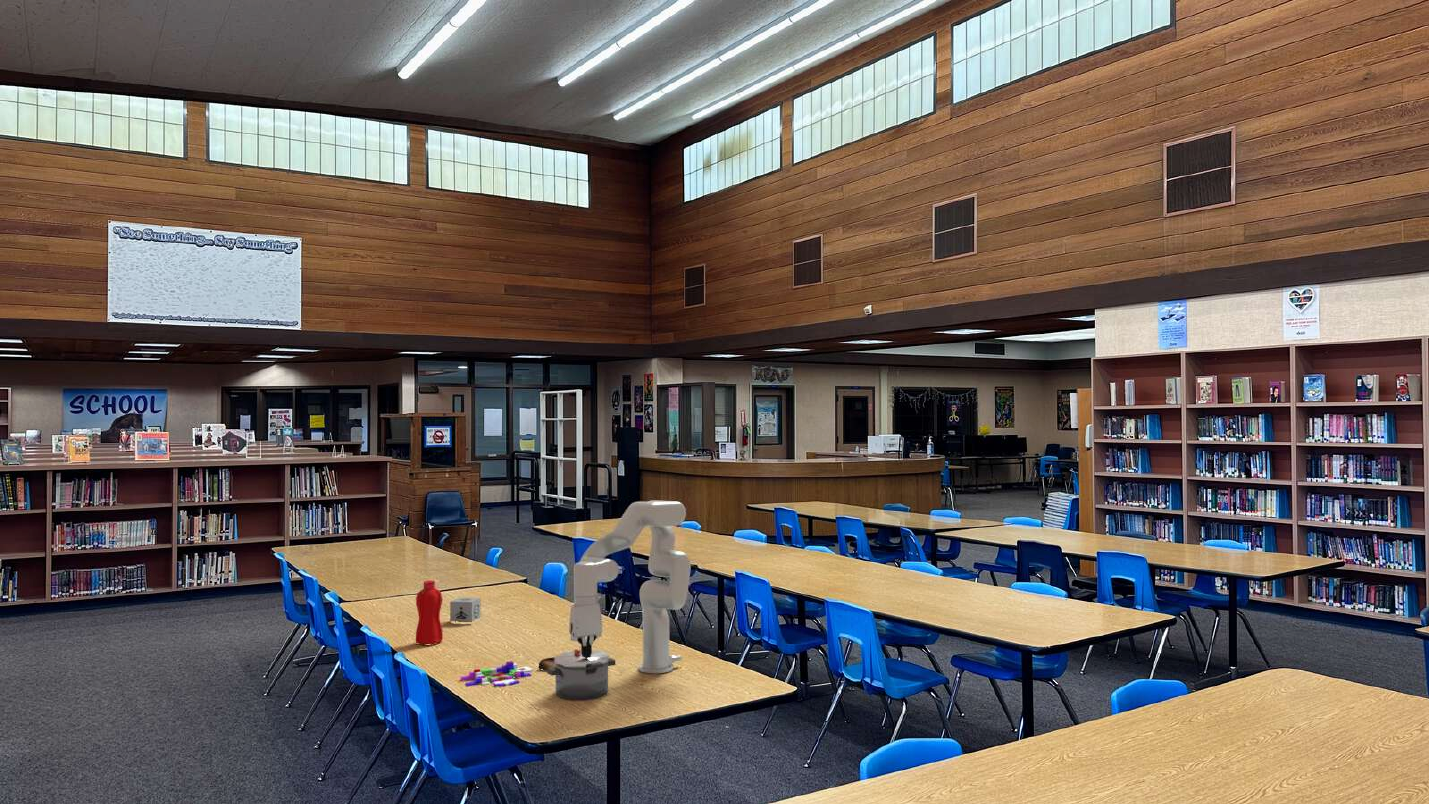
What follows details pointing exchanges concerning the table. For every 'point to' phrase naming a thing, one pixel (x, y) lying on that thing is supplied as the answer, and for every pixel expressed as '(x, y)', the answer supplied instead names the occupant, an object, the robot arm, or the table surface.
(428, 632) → the water bottle
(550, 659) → the sunglasses case
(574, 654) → the lid
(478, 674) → the building block set
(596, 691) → the pot
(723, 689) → the table surface
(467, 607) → the icon cube
